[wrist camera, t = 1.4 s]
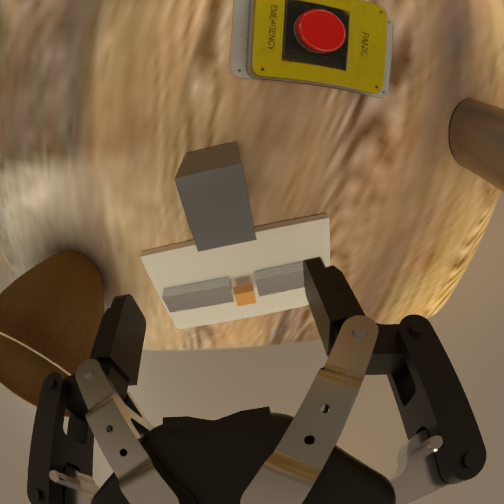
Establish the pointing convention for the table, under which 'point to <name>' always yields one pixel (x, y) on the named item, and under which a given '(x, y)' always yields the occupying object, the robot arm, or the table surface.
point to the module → (215, 197)
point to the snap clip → (244, 294)
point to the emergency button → (313, 43)
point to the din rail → (223, 293)
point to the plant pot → (49, 322)
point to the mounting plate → (240, 268)
